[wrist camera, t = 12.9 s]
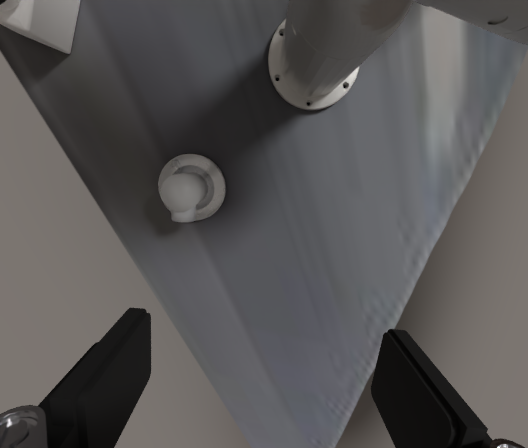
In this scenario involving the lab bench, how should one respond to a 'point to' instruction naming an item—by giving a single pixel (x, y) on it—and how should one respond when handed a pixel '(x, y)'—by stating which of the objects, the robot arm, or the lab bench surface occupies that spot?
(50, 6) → the medicine bottle
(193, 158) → the shallow grey dish
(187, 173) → the white light bulb
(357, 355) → the lab bench surface
